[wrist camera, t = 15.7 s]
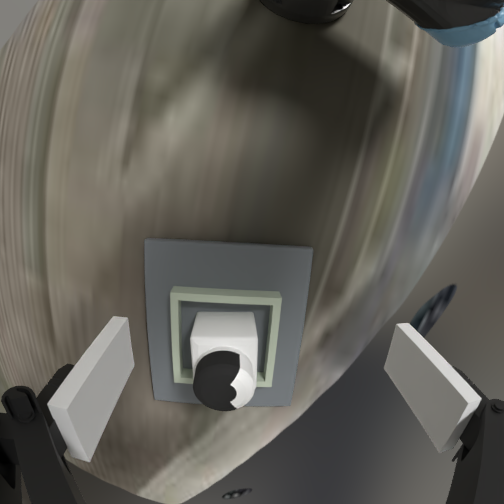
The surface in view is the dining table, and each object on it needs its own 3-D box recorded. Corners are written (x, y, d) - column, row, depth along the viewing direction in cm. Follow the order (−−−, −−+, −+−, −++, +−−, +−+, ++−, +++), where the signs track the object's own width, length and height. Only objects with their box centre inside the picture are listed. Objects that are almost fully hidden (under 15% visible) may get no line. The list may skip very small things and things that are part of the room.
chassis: (147, 237, 40) (138, 243, 36) (310, 246, 42) (318, 253, 38) (156, 394, 46) (151, 408, 42) (288, 400, 47) (292, 415, 43)
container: (199, 358, 43) (189, 418, 30) (196, 310, 41) (183, 362, 28) (252, 358, 43) (259, 418, 31) (253, 310, 42) (262, 362, 29)
